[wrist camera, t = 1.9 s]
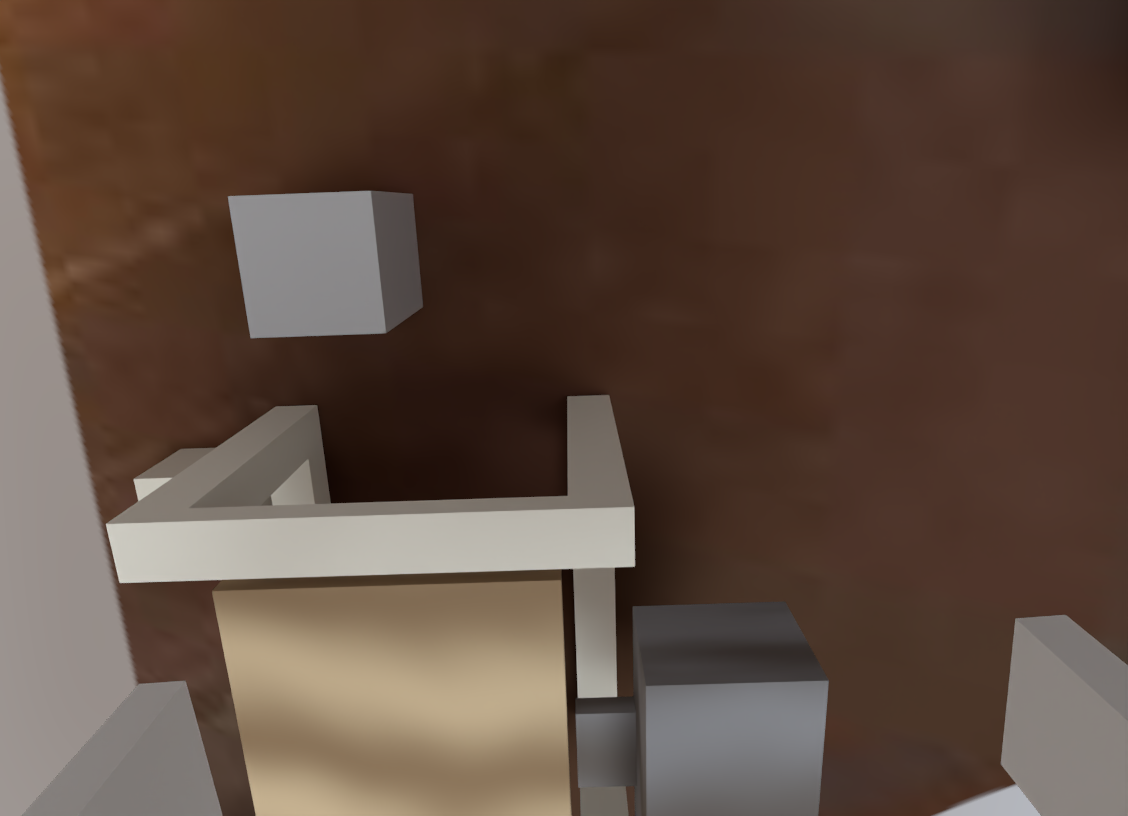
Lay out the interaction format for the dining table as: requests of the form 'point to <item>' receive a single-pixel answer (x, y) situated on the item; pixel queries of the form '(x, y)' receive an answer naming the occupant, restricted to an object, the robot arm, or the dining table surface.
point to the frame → (393, 530)
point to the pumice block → (170, 471)
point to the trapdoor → (510, 701)
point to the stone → (327, 262)
